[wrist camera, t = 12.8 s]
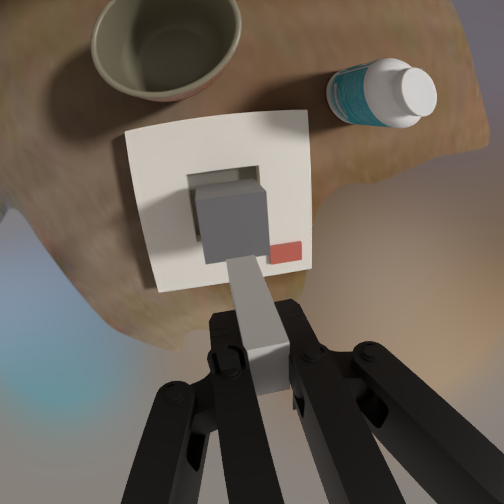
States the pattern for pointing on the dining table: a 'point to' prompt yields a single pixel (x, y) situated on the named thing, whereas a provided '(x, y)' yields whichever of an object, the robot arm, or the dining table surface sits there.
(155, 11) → the planter
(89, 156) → the dining table surface
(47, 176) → the dining table surface
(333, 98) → the pill bottle
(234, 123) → the socket plate
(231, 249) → the plug
